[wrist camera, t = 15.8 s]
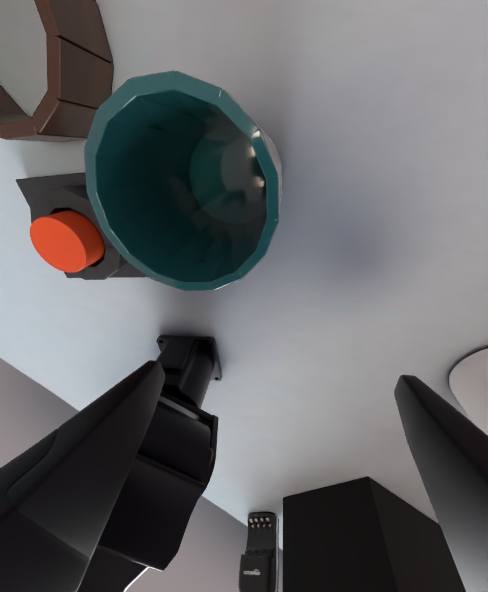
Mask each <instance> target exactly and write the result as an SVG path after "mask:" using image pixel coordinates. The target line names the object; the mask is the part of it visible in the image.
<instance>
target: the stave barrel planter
mask: <svg viewBox="0 0 488 592" xmlns="http://www.w3.org/2000/svg"><path fill="white" fill-rule="evenodd" d="M34 1H35V4H36V6H37V9H38V12H39V15H40V17H41V20H42V23H43V26H44V28H45V31H46V34H47V77H48V91H47V92H46V94H45V96H44V97H43V99H42V101H41V102H40V104H39V106H38V107H37V109H36V111H35V112H34V114H33V116H32V117H29V116H27V115H25V113H24V112H23V111H22V110H21V109H20V108H19V107H18V105H17V104H16V103H15V102H14V101H13V100H12V99H11V98H10V96H9V95H8V94H7V93H6V92H5V91H4V90H3V88H2V87H1V86H0V138H2V139H5V140H26V141H46V142H65V141H73V140H80V139H87V138H88V136H89V133H90V130H91V127H92V124H93V121H94V118H95V115H96V112H97V109H99V106H101V105H102V104H103V103H104V102H105V101H106V100H107V99H108V98H109V97H110V96H111V86H112V76H113V65H112V64H110V63H113V60H112V57H111V53H110V49H109V46H108V42H107V38H106V35H105V31H104V27H103V24H102V20H101V16H100V13H99V9H98V5H97V4H96V3H95V0H34Z"/></svg>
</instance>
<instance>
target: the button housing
mask: <svg viewBox="0 0 488 592" xmlns="http://www.w3.org/2000/svg"><path fill="white" fill-rule="evenodd" d="M16 182H17V184H18V186H19V187H20V189H21V191H22V193H23V195H24V197H25V199H26V201H27V203H28V204H29V206H30V209H31V223H33V222H34V221H35V220H36V219H38V218H40V217H44V216H48V215H52V214H55V213H59V212H63V211H75V212H78V213H80V214H82V215H84V216H86V217H87V218H89V219H90V221H91V222H92V223H93V224H94V225H95V226H96V227H97V228H98V229H99V231H100V233H101V235H102V238H103V240H104V243H105V250H104V254H103V256H102V257H101V258H100V259H99V260H98V261H96V262H94V263H92V264H91V265H89V266H87V267H85V268H84V269H82V270H80V271H78V272H64V273H65V274H66V276H67V278H82V279H84V280H104V279H107V278H112V277H148V276H147V275H146V274H144V273H143V272H142V271H140V270H139V269H137V268H136V267H135V266H133V265H132V264H131V263H129V262H128V261H127V260H126V259H124V257H123V256H122V255H121V254H120V252H119V251H118V250H117V248H116V247H115V246H114V245H113V243H112V242H111V241H110V239H109V238H108V237H107V236H106V234H105V233H104V232H103V230H102V229H101V226H100V224H99V221H98V219H97V216H96V214H95V211H94V209H93V206H92V204H91V201H90V199H89V196H88V194H87V188H86V173H76V174H66V175H56V176H46V177H36V178H26V179H16Z"/></svg>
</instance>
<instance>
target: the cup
mask: <svg viewBox="0 0 488 592" xmlns="http://www.w3.org/2000/svg"><path fill="white" fill-rule="evenodd" d="M84 149H85V150H84V157H85V172H86V188H87V194H88V196H89V199H90V201H91V204H92V206H93V209H94V211H95V214H96V216H97V219H98V221H99V224H100V226H101V229H102V230H103V232H104V233H105V234H106V236H107V237H108V238H109V239H110V241H111V242H112V243H113V245H114V246H115V247H116V248H117V250H118V251H119V252H120V254H121V255H122V256H123V257H124V259H126V260H127V261H128V262H129V263H131V264H132V265H133V266H135V267H136V268H137V269H139V270H140V271H142V272H143V273H144V274H146V275H147V276H148V277H150V278H151V279H153V280H155V281H158V282H161V283H163V284H166V285H169V286H172V287H175V288H178V289H181V290H216V289H218V288H221V287H223V286H226V285H228V284H231V283H233V282H236V281H238V280H241V279H242V278H243V277H244V276H245V275H246V274H247V273H248V272H249V271H250V270H251V269H252V268H253V267H254V266H255V265H256V264H257V263H258V262H259V261H260V260H261V259H262V258H263V257H264V256H265V255H266V252H267V250H268V247H269V245H270V242H271V240H272V237H273V235H274V232H275V229H276V227H277V224H278V222H279V214H280V204H281V193H282V162H281V159H280V157H279V154H278V151H277V149H276V146H275V144H274V142H273V140H272V139H271V138H270V137H269V136H268V135H267V134H266V133H265V132H264V131H263V130H262V129H261V128H260V126H259V125H258V124H257V123H256V122H255V121H254V120H253V119H252V118H251V117H250V116H249V115H248V114H247V113H246V112H245V111H244V110H243V109H242V108H241V107H240V106H239V105H238V104H237V103H236V102H235V101H234V100H233V99H232V97H231V96H230V95H229V94H228V93H227V92H226V91H225V90H223V89H222V88H220V87H217V86H215V85H212V84H210V83H207V82H204V81H202V80H199V79H197V78H194V77H191V76H189V75H186V74H184V73H181V72H178V71H168V72H162V73H157V74H151V75H145V76H139V77H134V78H131V79H128V80H127V81H126V82H125V83H124V84H123V85H122V86H121V87H120V88H119V89H118V90H117V91H116V92H114V93H113V94H112V95H111V96H110V97H109V98H108V99H107V100H106V101H105V102H104V103H103V104H102V105H101V106H99V109H97V112H96V115H95V118H94V121H93V124H92V127H91V130H90V133H89V136H88V139H87V142H86V145H85V148H84Z"/></svg>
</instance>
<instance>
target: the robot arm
mask: <svg viewBox="0 0 488 592" xmlns="http://www.w3.org/2000/svg"><path fill="white" fill-rule="evenodd" d="M162 340H163V341H162ZM210 342H211V343H210ZM157 343H158V345H159V348H160V351H161V353H160V355H159V356H158V358H157V360H156V361H153V360H150V361H148V362H146V363H145V364H144V365H142V366H141V367H140V368H138V369H137V370H136V371H134V372H133V373H132V374H130V375H129V376H127V377H126V378H125V379H123V380H122V381H121V382H119V383H118V384H117V385H115V386H114V387H113V388H111V389H110V390H108V391H107V392H106V393H104V394H103V395H102V396H100V397H99V398H98V399H96V400H95V401H94V402H92V403H91V404H90V405H88V406H87V407H85V408H84V409H83V410H81V411H80V412H79V413H77V414H76V415H75V416H74V417H72V418H71V419H69V420H68V421H66V422H65V423H64V424H62V425H61V426H60V427H59V428H58V429H56V430H54V431H53V432H52V433H50V434H49V435H48V436H46V437H45V438H43V439H42V440H40V441H39V442H38V443H36V444H35V445H34V446H32V447H31V448H29V449H28V450H27V451H25V452H24V453H22V454H21V455H19V456H18V457H16V458H15V459H13V460H12V461H10V462H9V463H7V464H6V465H4V466H3V467H1V468H0V592H126V590H127V588H128V587H129V586H130V585H131V584H132V583H133V582H134V581H135V580H136V579H137V578H138V577H139V576H140V575H142V574H143V572H145V571H146V570H147V569H148V568H149V567H150V568H153V569H156V570H159V571H163V570H164V569H165V568H166V567H167V566H168V564H169V563H170V561H171V560H172V559H173V558H174V557H175V555H176V554H177V552H178V550H179V547H180V544H181V541H182V538H183V535H184V532H185V529H186V526H187V523H188V521H189V518H190V516H191V513H192V511H193V509H194V507H195V505H196V502H197V500H198V499H199V498H200V496H201V495H202V494H203V492H204V491H205V489H206V487H207V485H208V483H209V481H210V478H211V475H212V472H213V469H214V465H215V459H216V446H217V431H218V417H217V416H215V415H211V414H209V413H207V412H205V411H203V410H202V409H201V406H202V403H203V400H204V397H205V394H206V391H207V388H208V385H209V382H210V381H220V380H221V378H222V375H221V370H220V364H219V359H218V354H217V349H216V344H215V340H214V339H213V338H210V337H187V336H159V337H158V339H157ZM394 393H395V399H396V403H397V406H398V410H399V413H400V417H401V421H402V424H403V428H404V431H405V435H406V438H407V442H408V445H409V447H410V450H411V453H412V455H413V458H414V460H415V463H416V465H417V468H418V470H419V473H420V475H421V478H422V481H423V483H424V486H425V488H426V491H427V493H428V496H429V498H430V501H431V503H432V506H433V509H434V511H435V514H436V516H437V519H438V521H439V524H440V526H441V529H442V531H443V534H444V537H445V539H446V542H447V544H448V547H449V549H450V552H451V554H452V557H453V559H454V562H455V565H456V567H457V570H458V572H459V575H460V577H461V580H462V582H463V585H464V587H465V590H466V592H488V435H487V434H485V433H484V432H483V431H482V430H481V429H479V428H478V427H477V426H476V425H475V424H473V423H472V422H471V421H470V420H468V419H467V418H466V417H465V416H464V415H462V414H461V413H460V412H459V411H457V410H456V409H455V408H454V407H453V406H451V405H450V404H449V403H448V402H447V401H445V400H444V399H443V398H442V397H440V396H439V395H438V394H437V393H436V392H434V391H433V390H432V389H431V388H429V387H428V386H427V385H426V384H425V383H423V382H422V381H421V380H420V379H418V378H417V377H416V376H412V375H401V376H400V377H399V380H398V383H397V385H396V388H395V392H394Z"/></svg>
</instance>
